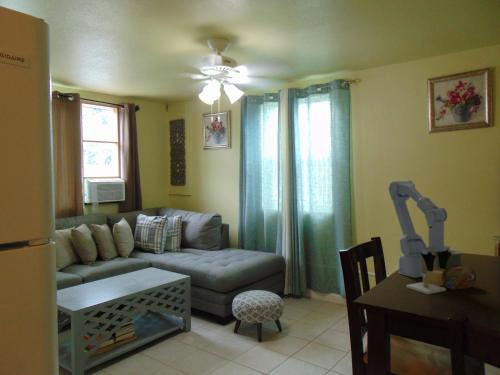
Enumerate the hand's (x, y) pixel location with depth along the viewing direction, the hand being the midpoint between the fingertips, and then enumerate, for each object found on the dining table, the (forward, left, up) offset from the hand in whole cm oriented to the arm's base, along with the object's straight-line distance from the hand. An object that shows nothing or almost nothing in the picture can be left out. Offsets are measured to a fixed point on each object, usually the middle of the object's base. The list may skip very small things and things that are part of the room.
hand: (436, 269), depth 152 cm
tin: (+8, +3, -6) cm, 10 cm away
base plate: (+3, -10, -6) cm, 12 cm away
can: (-19, +33, -6) cm, 39 cm away
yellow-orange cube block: (0, 0, -6) cm, 6 cm away
